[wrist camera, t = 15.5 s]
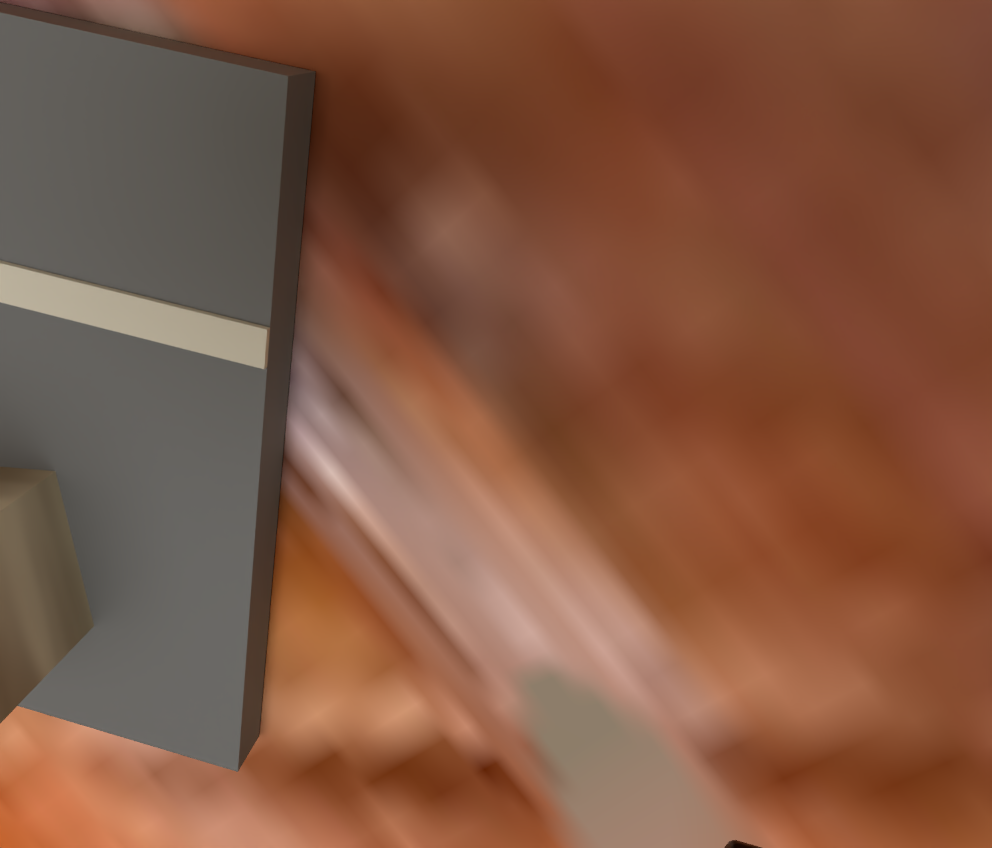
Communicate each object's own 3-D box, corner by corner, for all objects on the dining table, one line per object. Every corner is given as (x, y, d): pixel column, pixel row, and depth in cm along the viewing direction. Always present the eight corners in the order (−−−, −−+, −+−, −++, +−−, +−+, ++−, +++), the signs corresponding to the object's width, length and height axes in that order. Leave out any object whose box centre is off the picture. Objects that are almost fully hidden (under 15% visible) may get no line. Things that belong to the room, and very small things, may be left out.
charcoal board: (315, 71, 19) (284, 76, 18) (258, 735, 28) (235, 775, 27) (-218, -46, 21) (-287, -50, 19) (-111, 626, 30) (-153, 659, 28)
